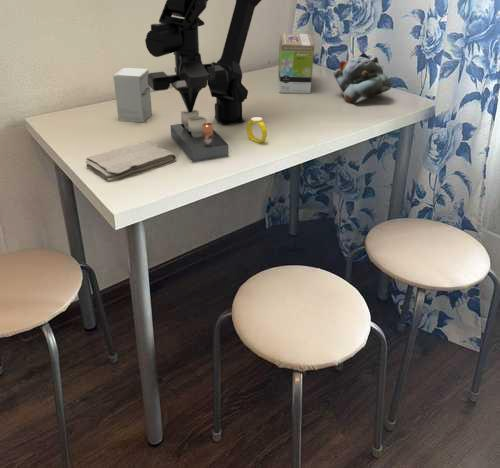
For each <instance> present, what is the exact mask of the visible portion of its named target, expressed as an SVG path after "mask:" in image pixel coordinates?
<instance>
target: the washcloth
mask: <svg viewBox="0 0 500 468" xmlns="http://www.w3.org/2000/svg"><path fill="white" fill-rule="evenodd" d="M176 159H177V156H176V154H175V153H174V152H171V151H169V150H166V149H163V148H161V147H160V146H159V145H157V144H155V143H153V142H151V141H148V140H143V141H140V142H136V143H134V144H133V143H132V144H128V145H125V146H121V147H118V148H114V149H111V150H108V151H104V152H101V153H98V154H94V155H90V156H88V157H86V161H85V163H86V167H89V170H90V171H92V172H93V173H95V174H97V175H98V176H99V177H100V178H102V179H103V180H105V181H106V182H114V181H119V180H124V179H127V178H130V177H133V176H136V175H138V174H143V173H145V172H148V171H151V170H154V169H157V168H159V167H163V166H165V165H169V164H173V162H175V161H176Z"/></svg>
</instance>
